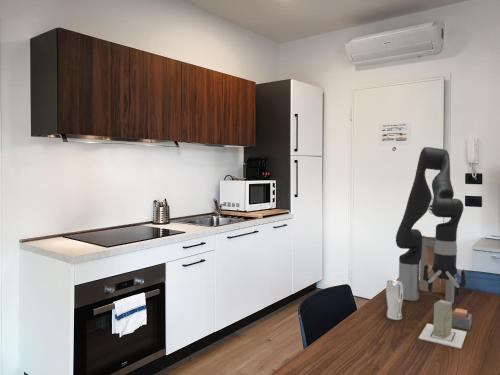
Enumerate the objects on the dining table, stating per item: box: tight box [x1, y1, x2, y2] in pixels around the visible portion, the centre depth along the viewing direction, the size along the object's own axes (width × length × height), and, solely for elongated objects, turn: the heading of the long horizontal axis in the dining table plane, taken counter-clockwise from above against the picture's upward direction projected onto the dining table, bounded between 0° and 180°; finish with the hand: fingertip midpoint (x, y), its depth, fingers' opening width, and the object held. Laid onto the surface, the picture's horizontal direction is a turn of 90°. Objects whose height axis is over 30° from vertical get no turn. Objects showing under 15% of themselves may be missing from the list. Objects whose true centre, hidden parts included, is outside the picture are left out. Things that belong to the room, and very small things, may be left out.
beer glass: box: [385, 279, 404, 321], centre depth 168 cm, size 7×7×15 cm
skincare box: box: [433, 299, 453, 338], centre depth 150 cm, size 6×4×12 cm
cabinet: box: [419, 235, 456, 305], centre depth 195 cm, size 21×10×28 cm, turn 17°
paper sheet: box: [418, 323, 467, 350], centre depth 150 cm, size 14×16×1 cm
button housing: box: [452, 310, 473, 331], centre depth 160 cm, size 7×7×4 cm
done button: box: [453, 307, 468, 318], centre depth 160 cm, size 4×4×2 cm
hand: (443, 294), depth 149 cm, fingers open, 8 cm apart
